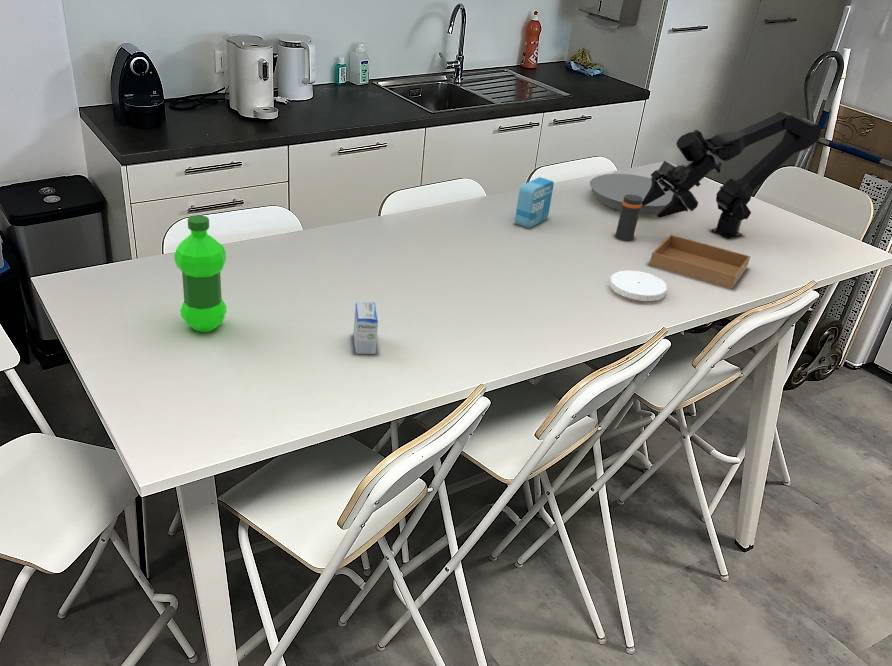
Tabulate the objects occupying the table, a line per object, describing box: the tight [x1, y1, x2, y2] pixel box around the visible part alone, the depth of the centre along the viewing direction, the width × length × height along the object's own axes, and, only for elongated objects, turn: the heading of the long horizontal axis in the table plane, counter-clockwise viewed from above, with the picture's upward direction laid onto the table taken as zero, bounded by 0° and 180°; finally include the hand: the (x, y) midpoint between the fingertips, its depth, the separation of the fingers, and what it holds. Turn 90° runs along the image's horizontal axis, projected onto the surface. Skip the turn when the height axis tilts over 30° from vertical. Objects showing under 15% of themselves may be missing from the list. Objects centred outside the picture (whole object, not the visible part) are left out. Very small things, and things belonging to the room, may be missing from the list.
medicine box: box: [352, 301, 379, 355], centre depth 182 cm, size 8×4×9 cm, turn 5°
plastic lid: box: [608, 269, 668, 302], centre depth 215 cm, size 14×14×2 cm
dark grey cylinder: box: [615, 194, 642, 242], centre depth 242 cm, size 5×5×12 cm
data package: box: [514, 176, 555, 229], centre depth 247 cm, size 12×4×12 cm, turn 141°
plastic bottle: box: [174, 214, 227, 333], centre depth 181 cm, size 10×10×25 cm
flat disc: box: [589, 173, 674, 214], centre depth 268 cm, size 28×28×4 cm
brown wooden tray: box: [649, 234, 751, 290], centre depth 229 cm, size 16×22×4 cm
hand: (649, 210), depth 242 cm, fingers open, 9 cm apart
